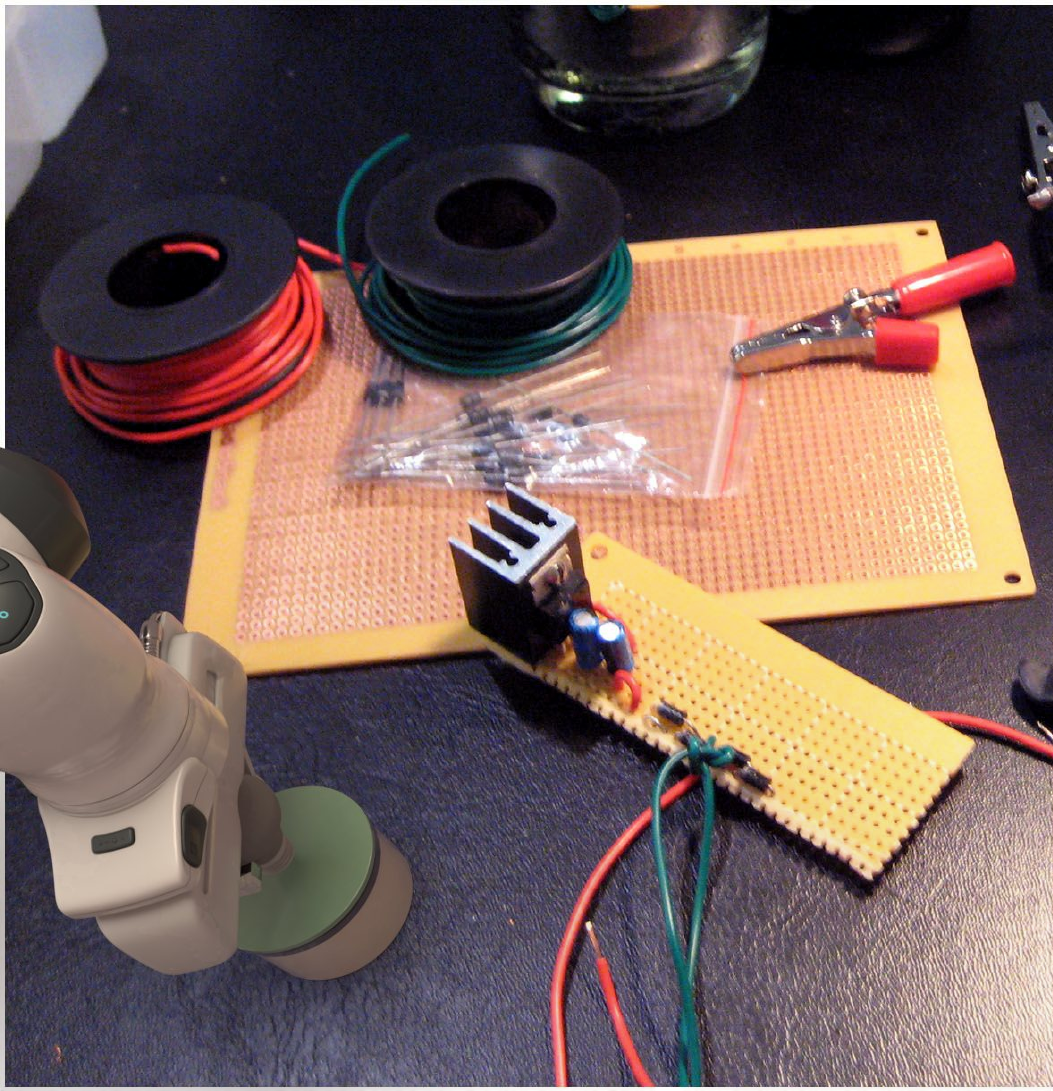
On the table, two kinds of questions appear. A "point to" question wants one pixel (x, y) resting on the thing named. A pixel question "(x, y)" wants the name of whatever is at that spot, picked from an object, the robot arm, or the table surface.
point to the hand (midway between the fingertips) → (251, 839)
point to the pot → (327, 890)
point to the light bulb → (262, 827)
